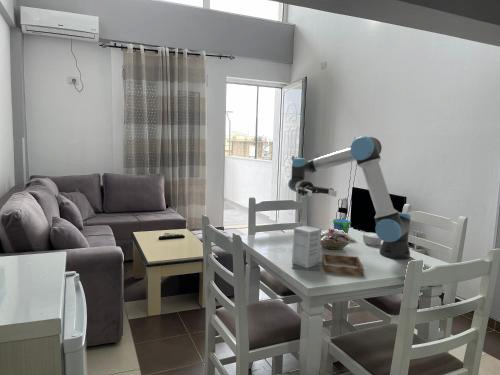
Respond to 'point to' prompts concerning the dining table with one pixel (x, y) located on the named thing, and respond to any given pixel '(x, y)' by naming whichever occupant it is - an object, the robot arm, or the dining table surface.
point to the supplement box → (306, 246)
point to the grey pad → (295, 266)
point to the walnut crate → (342, 269)
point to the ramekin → (371, 239)
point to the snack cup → (342, 224)
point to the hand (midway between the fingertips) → (323, 193)
